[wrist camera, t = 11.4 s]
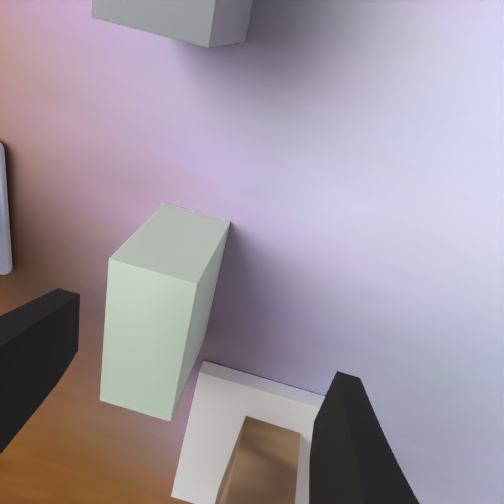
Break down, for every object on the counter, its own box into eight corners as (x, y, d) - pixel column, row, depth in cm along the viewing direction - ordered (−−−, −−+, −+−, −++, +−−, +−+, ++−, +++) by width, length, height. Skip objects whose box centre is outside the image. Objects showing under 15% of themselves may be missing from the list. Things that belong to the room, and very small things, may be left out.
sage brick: (148, 322, 25) (99, 400, 20) (164, 201, 21) (109, 258, 16) (204, 339, 25) (170, 421, 20) (230, 220, 21) (196, 284, 16)
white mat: (175, 483, 32) (171, 496, 31) (203, 360, 26) (199, 372, 25) (302, 522, 32) (302, 537, 31) (363, 407, 25) (364, 421, 24)
